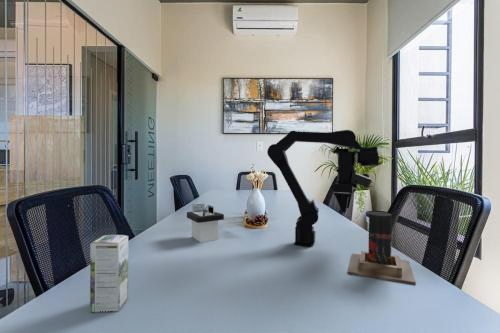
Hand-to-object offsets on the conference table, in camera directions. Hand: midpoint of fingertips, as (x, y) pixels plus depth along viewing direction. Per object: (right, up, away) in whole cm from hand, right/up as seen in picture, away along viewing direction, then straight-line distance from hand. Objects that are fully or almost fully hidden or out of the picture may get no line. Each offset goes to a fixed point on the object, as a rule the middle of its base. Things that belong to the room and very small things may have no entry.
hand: (345, 210), depth 100 cm
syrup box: (-64, -15, -40) cm, 77 cm away
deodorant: (+3, -13, -19) cm, 23 cm away
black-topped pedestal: (-52, -13, +10) cm, 54 cm away
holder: (+3, -14, -19) cm, 24 cm away
